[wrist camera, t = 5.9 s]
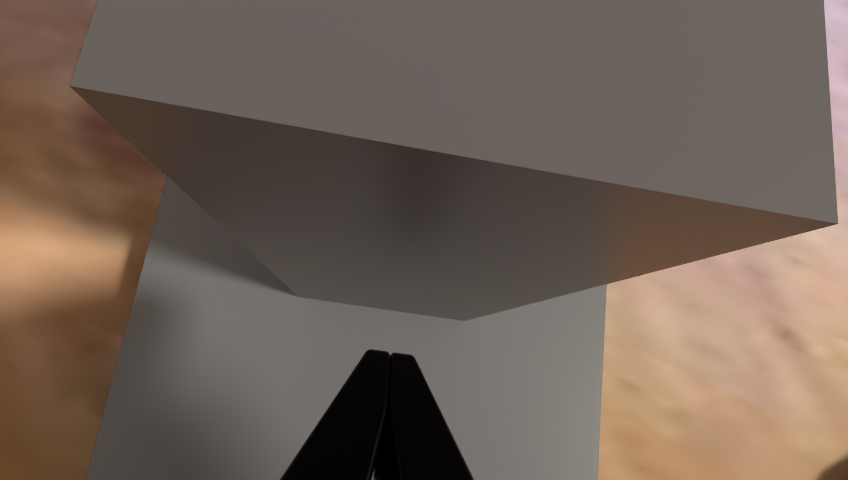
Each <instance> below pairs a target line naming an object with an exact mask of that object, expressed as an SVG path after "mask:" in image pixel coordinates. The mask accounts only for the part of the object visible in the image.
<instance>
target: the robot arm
mask: <svg viewBox="0 0 848 480" xmlns="http://www.w3.org/2000/svg"><path fill="white" fill-rule="evenodd" d="M372 476H373V480H474V478H473V476H472V474H471V472H470V470H469V468H468V466H467V464H466V462H465V460H464V458H463V455H462V453H461V451H460V449H459V447H458V445H457V443H456V441H455V439H454V437H453V435H452V433H451V431H450V429H449V427H448V425H447V423H446V420H445V418H444V416H443V414H442V412H441V410H440V408H439V406H438V404H437V402H436V400H435V398H434V396H433V394H432V392H431V390H430V388H429V386H428V383H427V381H426V379H425V377H424V375H423V373H422V371H421V369H420V367H419V365H418V363H417V361H416V359H415V357H414V356H413V355H410V354H403V353H396V352H394V353H392V354H391V355H390V354H389V352H387V351H381V350H373V349H369V350H367V351H366V352H365V353H364V355H363V356H362V358H361V359H360V361H359V362H358V364H357V365H356V367H355V368H354V370H353V371H352V373H351V374H350V376H349V377H348V379H347V380H346V382H345V383H344V385H343V386H342V388H341V389H340V391H339V392H338V394H337V395H336V397H335V398H334V400H333V401H332V403H331V404H330V406H329V407H328V409H327V410H326V411H325V413H324V414H323V416H322V417H321V419H320V420H319V422H318V423H317V425H316V426H315V428H314V429H313V431H312V432H311V434H310V435H309V437H308V438H307V440H306V441H305V443H304V444H303V446H302V447H301V449H300V450H299V452H298V453H297V455H296V456H295V458H294V459H293V461H292V462H291V464H290V465H289V467H288V468H287V470H286V471H285V473H284V474H283V475H282V477H281V478H280V480H372Z"/></svg>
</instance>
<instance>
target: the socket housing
mask: <svg viewBox="0 0 848 480" xmlns="http://www.w3.org/2000/svg"><path fill="white" fill-rule="evenodd" d="M606 286H607V284H605V285H601V286H597V287H594V288H590V289H586V290H582V291H578V292H574V293H571V294H567V295H563V296H559V297H555V298H551V299H548V300H544V301H540V302H536V303H532V304H528V305H525V306H521V307H517V308H513V309H509V310H505V311H502V312H498V313H494V314H490V315H486V316H482V317H479V318H475V319H471V320H467V321H461V320H454V319H447V318H440V317H434V316H427V315H420V314H413V313H406V312H399V311H392V310H385V309H378V308H372V307H365V306H358V305H351V304H344V303H337V302H330V301H323V300H317V299H310V298H303V297H298V296H297V295H296V294H295V293H294V292H293V291H292V290H291V289H290V288H289V287H287V286H286V285H285V284H284V283H283V282H282V281H281V280H280V279H279V278H278V277H277V276H275V275H274V274H273V273H272V272H271V271H270V270H269V269H268V268H267V267H266V266H265V265H264V264H262V263H261V262H260V261H259V260H258V259H257V258H256V257H255V256H254V255H253V254H252V253H250V252H249V251H248V250H247V249H246V248H245V247H244V246H243V245H242V244H241V243H240V242H239V241H237V240H236V239H235V238H234V237H233V236H232V235H231V234H230V233H229V232H228V231H227V230H225V229H224V228H223V227H222V226H221V225H220V224H219V223H218V222H217V221H216V220H215V219H214V218H212V217H211V216H210V215H209V214H208V213H207V212H206V211H205V210H204V209H203V208H202V207H200V206H199V205H198V204H197V203H196V202H195V201H194V200H193V199H192V198H191V197H190V196H189V195H187V194H186V193H185V192H184V191H183V190H182V189H181V188H180V187H179V186H178V185H177V184H176V183H174V182H173V181H172V180H171V179H170V178H169V177H168V176H167V178H166V182H165V186H164V190H163V193H162V197H161V201H160V204H159V208H158V212H157V216H156V219H155V223H154V227H153V230H152V234H151V238H150V242H149V245H148V249H147V253H146V256H145V260H144V264H143V268H142V271H141V275H140V279H139V283H138V286H137V290H136V294H135V297H134V301H133V305H132V309H131V312H130V316H129V320H128V323H127V327H126V331H125V335H124V338H123V342H122V346H121V349H120V353H119V357H118V361H117V364H116V368H115V372H114V375H113V379H112V383H111V387H110V390H109V394H108V398H107V401H106V405H105V409H104V413H103V416H102V420H101V424H100V427H99V431H98V435H97V439H96V442H95V446H94V450H93V453H92V457H91V461H90V465H89V468H88V472H87V476H86V479H85V480H280V478H281V477H282V475H283V474H284V473H285V471H286V470H287V468H288V467H289V465H290V464H291V462H292V461H293V459H294V458H295V456H296V455H297V453H298V452H299V450H300V449H301V447H302V446H303V444H304V443H305V441H306V440H307V438H308V437H309V435H310V434H311V432H312V431H313V429H314V428H315V426H316V425H317V423H318V422H319V420H320V419H321V417H322V416H323V414H324V413H325V411H326V410H327V409H328V407H329V406H330V404H331V403H332V401H333V400H334V398H335V397H336V395H337V394H338V392H339V391H340V389H341V388H342V386H343V385H344V383H345V382H346V380H347V379H348V377H349V376H350V374H351V373H352V371H353V370H354V368H355V367H356V365H357V364H358V362H359V361H360V359H361V358H362V356H363V355H364V353H365V352H366V351H367V350H369V349H373V350H381V351H387V352H389V354H390V355H391V354H392V353H394V352H396V353H403V354H410V355H413V356H414V357H415V359H416V361H417V363H418V365H419V367H420V369H421V371H422V373H423V375H424V377H425V379H426V381H427V383H428V386H429V388H430V390H431V392H432V394H433V396H434V398H435V400H436V402H437V404H438V406H439V408H440V410H441V412H442V414H443V416H444V418H445V420H446V423H447V425H448V427H449V429H450V431H451V433H452V435H453V437H454V439H455V441H456V443H457V445H458V447H459V449H460V451H461V453H462V455H463V458H464V460H465V462H466V464H467V466H468V468H469V470H470V472H471V474H472V476H473V478H474V480H597V479H598V457H599V436H600V414H601V393H602V372H603V350H604V329H605V307H606ZM372 480H373V476H372Z"/></svg>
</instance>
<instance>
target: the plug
mask: <svg viewBox="0 0 848 480" xmlns="http://www.w3.org/2000/svg"><path fill="white" fill-rule="evenodd" d="M69 86H70V87H71V88H72V89H73V90H74V91H76V92H77V93H78V94H79V95H80V96H81V97H82V98H83V99H84V100H85V101H86V102H88V103H89V104H90V105H91V106H92V107H93V108H94V109H95V110H96V111H97V112H98V113H99V114H101V115H102V116H103V117H104V118H105V119H106V120H107V121H108V122H109V123H110V124H111V125H112V126H114V127H115V128H116V129H117V130H118V131H119V132H120V133H121V134H122V135H123V136H124V137H126V138H127V139H128V140H129V141H130V142H131V143H132V144H133V145H134V146H135V147H136V148H137V149H139V150H140V151H141V152H142V153H143V154H144V155H145V156H146V157H147V158H148V159H149V160H151V161H152V162H153V163H154V164H155V165H156V166H157V167H158V168H159V169H160V170H161V171H162V172H164V173H165V174H166V175H167V176H168V177H169V178H170V179H171V180H172V181H173V182H174V183H176V184H177V185H178V186H179V187H180V188H181V189H182V190H183V191H184V192H185V193H186V194H187V195H189V196H190V197H191V198H192V199H193V200H194V201H195V202H196V203H197V204H198V205H199V206H200V207H202V208H203V209H204V210H205V211H206V212H207V213H208V214H209V215H210V216H211V217H212V218H214V219H215V220H216V221H217V222H218V223H219V224H220V225H221V226H222V227H223V228H224V229H225V230H227V231H228V232H229V233H230V234H231V235H232V236H233V237H234V238H235V239H236V240H237V241H239V242H240V243H241V244H242V245H243V246H244V247H245V248H246V249H247V250H248V251H249V252H250V253H252V254H253V255H254V256H255V257H256V258H257V259H258V260H259V261H260V262H261V263H262V264H264V265H265V266H266V267H267V268H268V269H269V270H270V271H271V272H272V273H273V274H274V275H275V276H277V277H278V278H279V279H280V280H281V281H282V282H283V283H284V284H285V285H286V286H287V287H289V288H290V289H291V290H292V291H293V292H294V293H295V294H296V295H297V296H298V297H303V298H310V299H317V300H323V301H330V302H337V303H344V304H351V305H358V306H365V307H372V308H378V309H385V310H392V311H399V312H406V313H413V314H420V315H427V316H434V317H440V318H447V319H454V320H461V321H467V320H471V319H475V318H479V317H482V316H486V315H490V314H494V313H498V312H502V311H505V310H509V309H513V308H517V307H521V306H525V305H528V304H532V303H536V302H540V301H544V300H548V299H551V298H555V297H559V296H563V295H567V294H571V293H574V292H578V291H582V290H586V289H590V288H594V287H597V286H601V285H605V284H609V283H613V282H617V281H620V280H624V279H628V278H632V277H636V276H640V275H643V274H647V273H651V272H655V271H659V270H663V269H666V268H670V267H674V266H678V265H682V264H686V263H690V262H693V261H697V260H701V259H705V258H709V257H713V256H716V255H720V254H724V253H728V252H732V251H736V250H739V249H743V248H747V247H751V246H755V245H759V244H762V243H766V242H770V241H774V240H778V239H782V238H785V237H789V236H793V235H797V234H801V233H805V232H808V231H812V230H816V229H820V228H824V227H828V226H831V225H835V224H838V215H837V199H836V184H835V168H834V153H833V138H832V122H831V107H830V92H829V76H828V61H827V45H826V30H825V15H824V0H98V1H97V4H96V7H95V10H94V13H93V16H92V19H91V22H90V25H89V28H88V31H87V34H86V37H85V40H84V43H83V46H82V49H81V52H80V55H79V58H78V61H77V64H76V67H75V70H74V73H73V76H72V79H71V82H70V85H69Z"/></svg>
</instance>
